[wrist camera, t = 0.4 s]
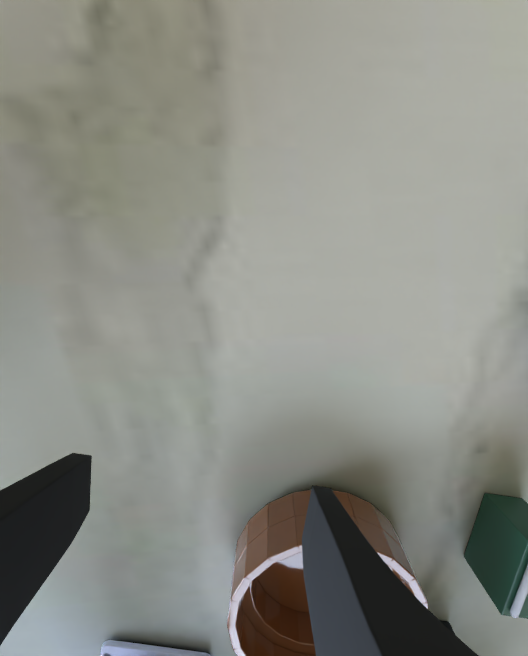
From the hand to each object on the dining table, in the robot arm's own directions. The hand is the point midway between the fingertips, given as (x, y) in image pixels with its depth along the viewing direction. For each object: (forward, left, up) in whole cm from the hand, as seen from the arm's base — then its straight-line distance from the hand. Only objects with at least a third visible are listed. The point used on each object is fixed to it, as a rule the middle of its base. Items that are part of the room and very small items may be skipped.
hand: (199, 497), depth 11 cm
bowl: (-11, -7, -10) cm, 17 cm away
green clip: (-7, -18, -10) cm, 22 cm away
